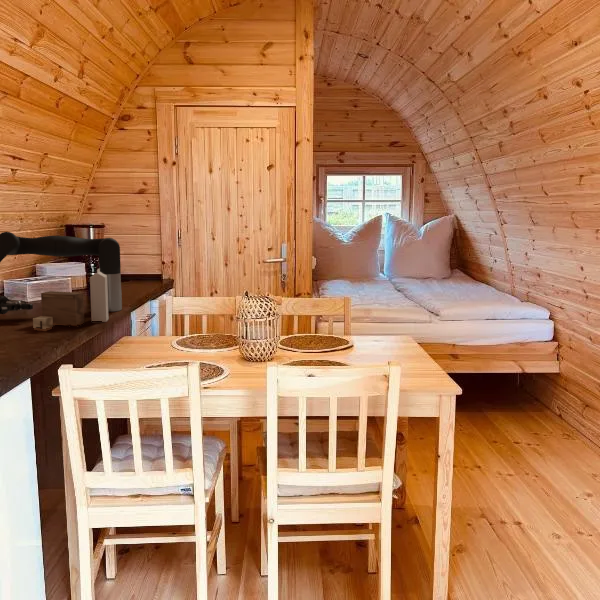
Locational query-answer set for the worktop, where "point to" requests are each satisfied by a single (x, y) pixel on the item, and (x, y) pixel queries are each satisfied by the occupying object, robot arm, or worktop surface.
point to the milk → (99, 297)
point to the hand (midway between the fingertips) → (31, 306)
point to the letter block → (42, 322)
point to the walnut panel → (63, 307)
